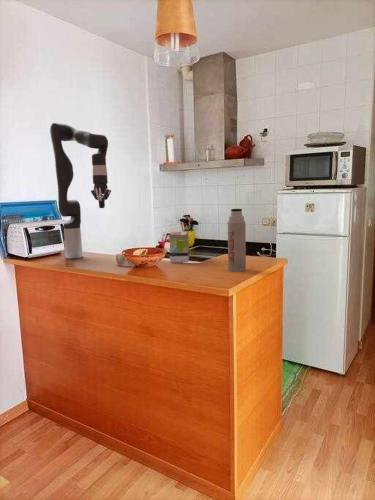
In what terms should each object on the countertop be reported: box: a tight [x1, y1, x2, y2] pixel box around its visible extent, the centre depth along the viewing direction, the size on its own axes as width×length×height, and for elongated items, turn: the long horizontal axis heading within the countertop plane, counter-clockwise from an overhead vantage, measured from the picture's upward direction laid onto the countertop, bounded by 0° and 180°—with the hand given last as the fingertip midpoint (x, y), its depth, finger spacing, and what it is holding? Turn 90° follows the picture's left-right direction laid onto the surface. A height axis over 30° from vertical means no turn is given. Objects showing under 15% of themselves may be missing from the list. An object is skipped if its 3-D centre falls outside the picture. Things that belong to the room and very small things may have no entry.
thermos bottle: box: [227, 208, 247, 273], centre depth 169 cm, size 8×8×28 cm
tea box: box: [168, 231, 190, 264], centre depth 198 cm, size 15×10×15 cm, turn 179°
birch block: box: [115, 251, 135, 267], centre depth 191 cm, size 6×6×12 cm
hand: (102, 208), depth 195 cm, fingers closed
